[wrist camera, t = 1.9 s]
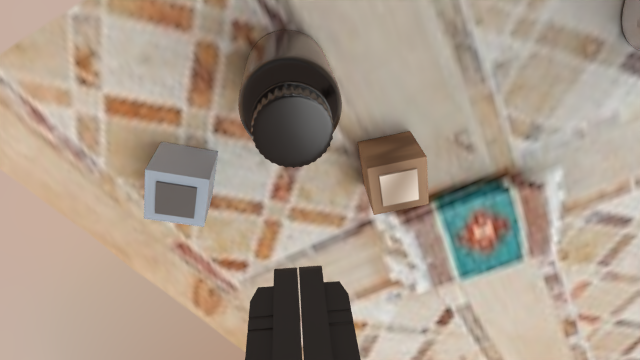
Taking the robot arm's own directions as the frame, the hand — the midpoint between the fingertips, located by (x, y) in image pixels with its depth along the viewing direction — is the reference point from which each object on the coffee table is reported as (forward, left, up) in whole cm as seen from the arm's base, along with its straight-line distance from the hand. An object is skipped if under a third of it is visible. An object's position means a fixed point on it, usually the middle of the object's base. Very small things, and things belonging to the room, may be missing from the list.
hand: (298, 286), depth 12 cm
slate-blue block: (+10, +9, -24) cm, 27 cm away
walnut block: (-9, +9, -24) cm, 27 cm away
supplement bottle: (0, 0, -24) cm, 24 cm away
